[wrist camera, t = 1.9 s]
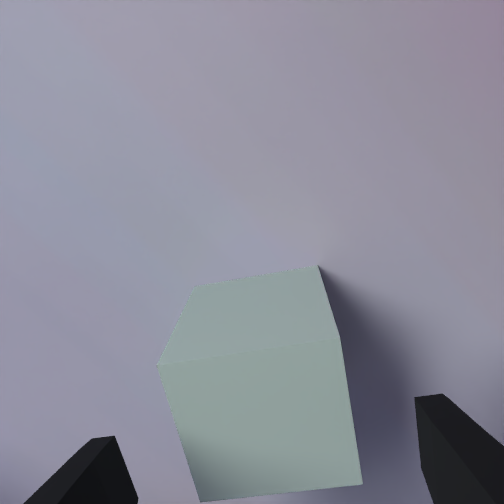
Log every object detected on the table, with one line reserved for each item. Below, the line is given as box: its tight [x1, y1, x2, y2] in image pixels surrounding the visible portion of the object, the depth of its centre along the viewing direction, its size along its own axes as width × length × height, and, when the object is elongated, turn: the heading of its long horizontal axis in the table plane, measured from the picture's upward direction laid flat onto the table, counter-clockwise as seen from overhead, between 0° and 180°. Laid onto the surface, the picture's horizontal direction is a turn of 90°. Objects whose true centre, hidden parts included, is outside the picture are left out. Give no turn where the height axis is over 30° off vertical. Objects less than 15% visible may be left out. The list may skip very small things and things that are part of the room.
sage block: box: [157, 265, 363, 502], centre depth 13 cm, size 4×4×5 cm
